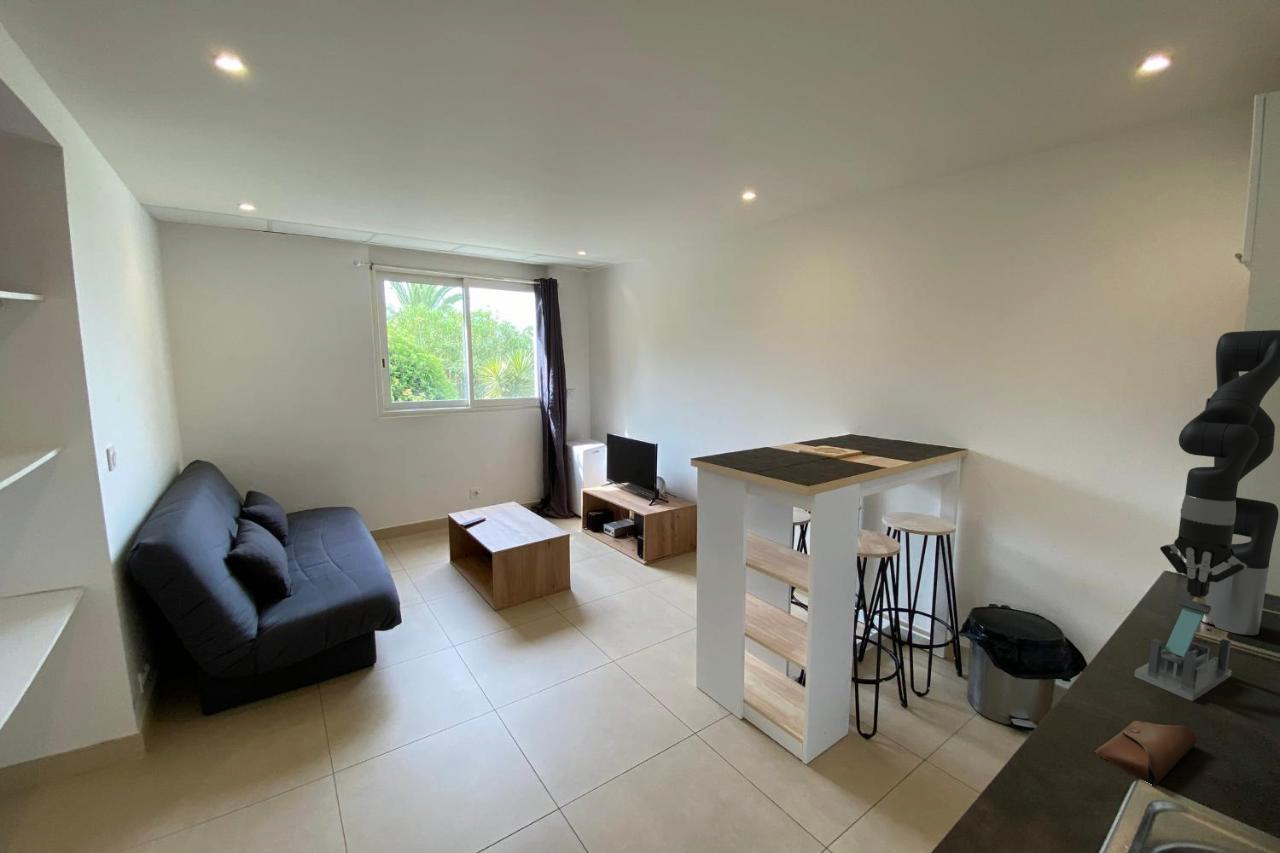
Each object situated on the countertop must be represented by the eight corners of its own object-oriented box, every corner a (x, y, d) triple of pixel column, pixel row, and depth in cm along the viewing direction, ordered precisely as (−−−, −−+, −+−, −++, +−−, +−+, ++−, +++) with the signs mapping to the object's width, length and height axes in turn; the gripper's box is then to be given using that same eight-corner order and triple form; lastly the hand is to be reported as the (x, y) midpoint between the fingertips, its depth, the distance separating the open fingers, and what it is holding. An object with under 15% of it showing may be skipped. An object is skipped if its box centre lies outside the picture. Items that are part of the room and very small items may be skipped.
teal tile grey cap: (1183, 600, 111) (1181, 597, 110) (1212, 609, 107) (1210, 606, 106) (1157, 656, 108) (1155, 653, 108) (1186, 667, 104) (1184, 664, 104)
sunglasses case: (1132, 717, 98) (1160, 700, 94) (1174, 755, 93) (1205, 738, 89) (1090, 754, 89) (1119, 737, 85) (1134, 797, 84) (1166, 781, 81)
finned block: (1173, 654, 117) (1177, 620, 116) (1230, 676, 109) (1235, 639, 108) (1134, 676, 110) (1138, 639, 109) (1192, 701, 102) (1197, 662, 101)
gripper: (1262, 524, 101) (1250, 605, 104) (1172, 507, 113) (1163, 580, 115) (1247, 530, 98) (1235, 613, 100) (1156, 512, 110) (1147, 587, 112)
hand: (1196, 596), depth 108 cm, fingers closed
